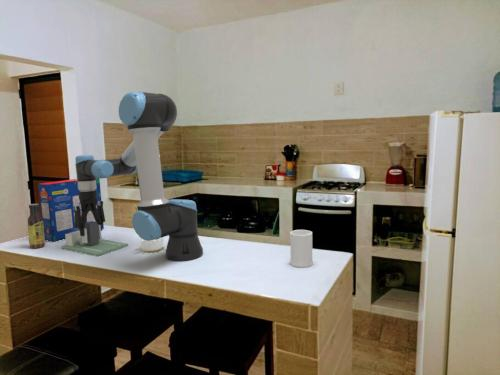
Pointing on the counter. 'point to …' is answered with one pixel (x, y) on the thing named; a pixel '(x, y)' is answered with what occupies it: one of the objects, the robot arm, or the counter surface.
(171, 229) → the robot arm
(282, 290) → the counter surface
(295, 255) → the mug
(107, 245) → the pitch
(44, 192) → the pasta box
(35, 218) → the sauce bottle
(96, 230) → the striker
